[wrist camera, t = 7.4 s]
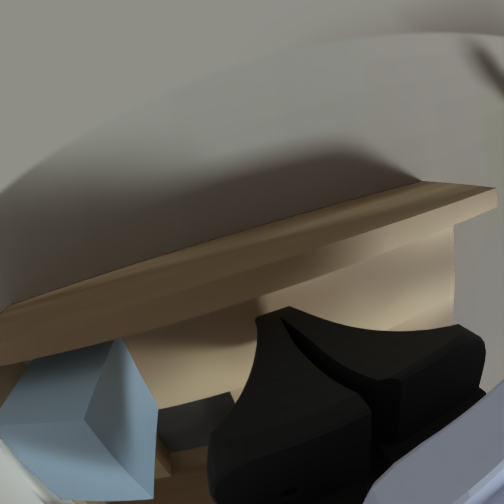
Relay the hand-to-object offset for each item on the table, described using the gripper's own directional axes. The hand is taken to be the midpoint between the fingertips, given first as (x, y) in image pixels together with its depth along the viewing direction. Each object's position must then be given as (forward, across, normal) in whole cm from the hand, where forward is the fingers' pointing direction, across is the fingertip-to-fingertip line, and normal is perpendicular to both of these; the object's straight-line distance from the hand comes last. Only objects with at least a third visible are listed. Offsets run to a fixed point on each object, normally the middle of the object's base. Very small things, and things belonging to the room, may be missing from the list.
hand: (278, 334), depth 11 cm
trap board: (+3, +1, +3) cm, 4 cm away
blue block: (+1, +8, 0) cm, 8 cm away
